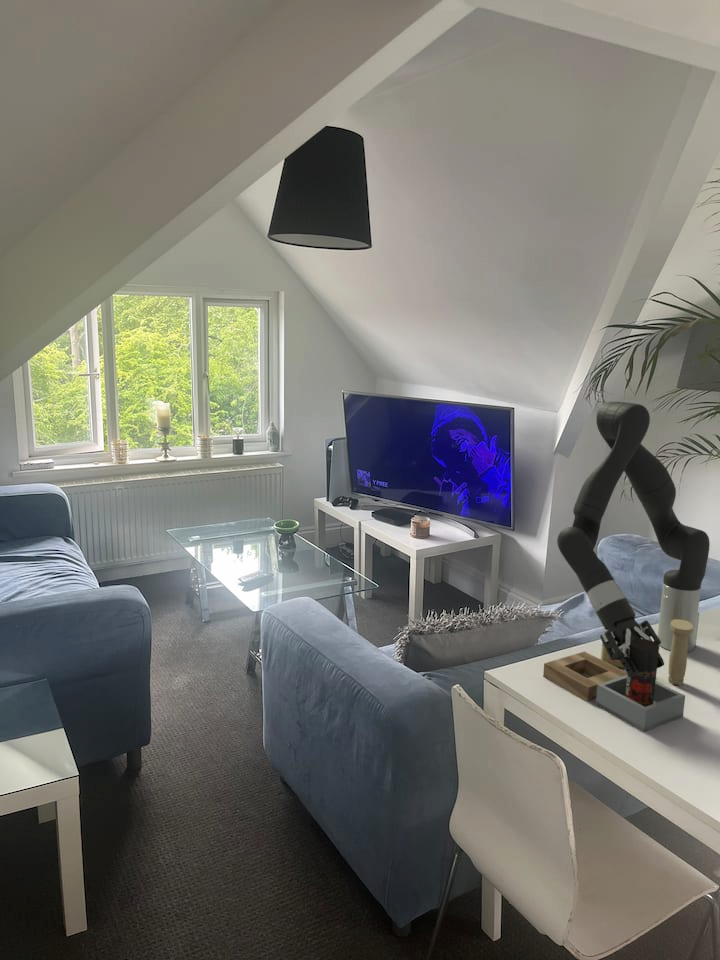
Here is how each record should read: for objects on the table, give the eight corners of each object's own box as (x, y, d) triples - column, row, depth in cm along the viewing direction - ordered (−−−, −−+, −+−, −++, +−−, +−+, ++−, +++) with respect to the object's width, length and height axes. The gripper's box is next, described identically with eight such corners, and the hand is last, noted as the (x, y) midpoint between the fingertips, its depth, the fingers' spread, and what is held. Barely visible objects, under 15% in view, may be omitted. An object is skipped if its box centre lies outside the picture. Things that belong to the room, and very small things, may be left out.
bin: (634, 691, 169) (636, 671, 168) (682, 716, 158) (685, 695, 157) (595, 704, 163) (597, 684, 162) (643, 732, 152) (646, 710, 151)
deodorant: (618, 702, 162) (624, 641, 159) (639, 697, 164) (645, 636, 161) (637, 715, 157) (644, 652, 153) (658, 710, 159) (665, 647, 156)
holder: (583, 664, 183) (584, 651, 182) (628, 687, 171) (629, 673, 170) (543, 676, 176) (544, 663, 175) (587, 701, 164) (588, 687, 163)
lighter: (630, 664, 183) (633, 627, 181) (629, 670, 180) (632, 633, 178) (600, 659, 186) (604, 622, 184) (599, 665, 183) (602, 628, 181)
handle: (685, 678, 176) (692, 621, 173) (687, 690, 170) (693, 631, 167) (664, 675, 177) (670, 618, 174) (665, 686, 172) (671, 627, 169)
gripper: (598, 602, 158) (637, 671, 151) (641, 592, 165) (680, 657, 158) (578, 617, 164) (615, 684, 156) (621, 606, 171) (657, 670, 164)
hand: (648, 670), depth 157 cm, fingers open, 8 cm apart
